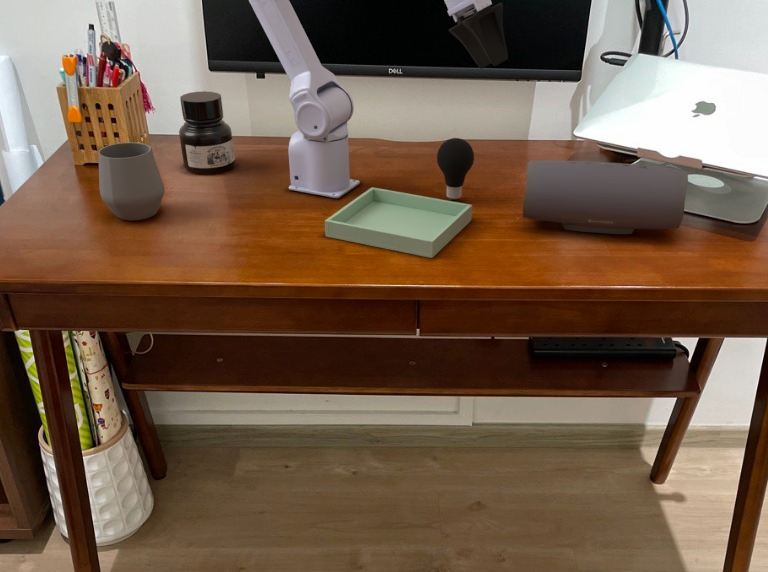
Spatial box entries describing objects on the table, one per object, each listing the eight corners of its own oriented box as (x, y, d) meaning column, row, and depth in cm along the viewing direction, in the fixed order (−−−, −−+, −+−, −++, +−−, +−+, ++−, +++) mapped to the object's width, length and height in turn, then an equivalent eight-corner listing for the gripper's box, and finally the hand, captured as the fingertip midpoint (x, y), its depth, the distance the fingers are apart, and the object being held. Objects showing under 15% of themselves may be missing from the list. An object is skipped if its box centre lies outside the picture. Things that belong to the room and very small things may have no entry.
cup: (129, 199, 133) (117, 137, 127) (179, 207, 131) (169, 144, 125) (92, 221, 126) (77, 156, 120) (144, 230, 123) (132, 163, 118)
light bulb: (435, 193, 137) (436, 132, 131) (470, 194, 137) (473, 133, 131) (436, 207, 132) (438, 144, 126) (472, 207, 132) (476, 144, 126)
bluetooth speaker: (672, 222, 128) (685, 158, 122) (677, 247, 120) (691, 179, 114) (524, 211, 131) (530, 148, 125) (520, 234, 123) (526, 168, 117)
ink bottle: (190, 178, 141) (179, 106, 134) (175, 163, 148) (164, 93, 141) (244, 169, 145) (237, 99, 138) (228, 155, 152) (220, 87, 145)
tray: (325, 236, 122) (324, 220, 121) (372, 202, 133) (371, 187, 132) (432, 258, 116) (432, 241, 115) (471, 220, 128) (472, 204, 126)
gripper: (493, -57, 106) (534, 47, 111) (467, -38, 120) (504, 54, 125) (444, -30, 106) (487, 72, 111) (424, -14, 120) (463, 76, 125)
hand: (493, 64), depth 118 cm, fingers open, 7 cm apart
